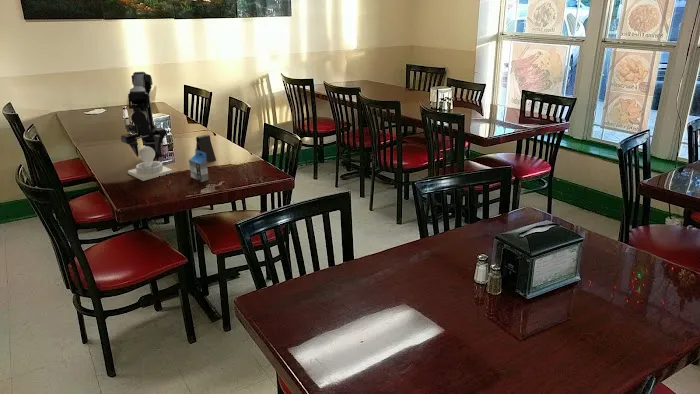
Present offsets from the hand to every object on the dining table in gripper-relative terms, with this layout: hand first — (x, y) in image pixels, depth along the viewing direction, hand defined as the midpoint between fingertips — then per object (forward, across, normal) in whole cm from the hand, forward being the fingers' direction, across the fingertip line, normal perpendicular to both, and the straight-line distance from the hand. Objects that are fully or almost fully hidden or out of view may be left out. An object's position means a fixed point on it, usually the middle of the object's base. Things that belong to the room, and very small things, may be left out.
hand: (147, 154), depth 227 cm
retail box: (+9, -11, +23) cm, 27 cm away
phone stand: (+9, -28, +1) cm, 30 cm away
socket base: (+9, 0, 0) cm, 9 cm away
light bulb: (+8, 0, 0) cm, 8 cm away
